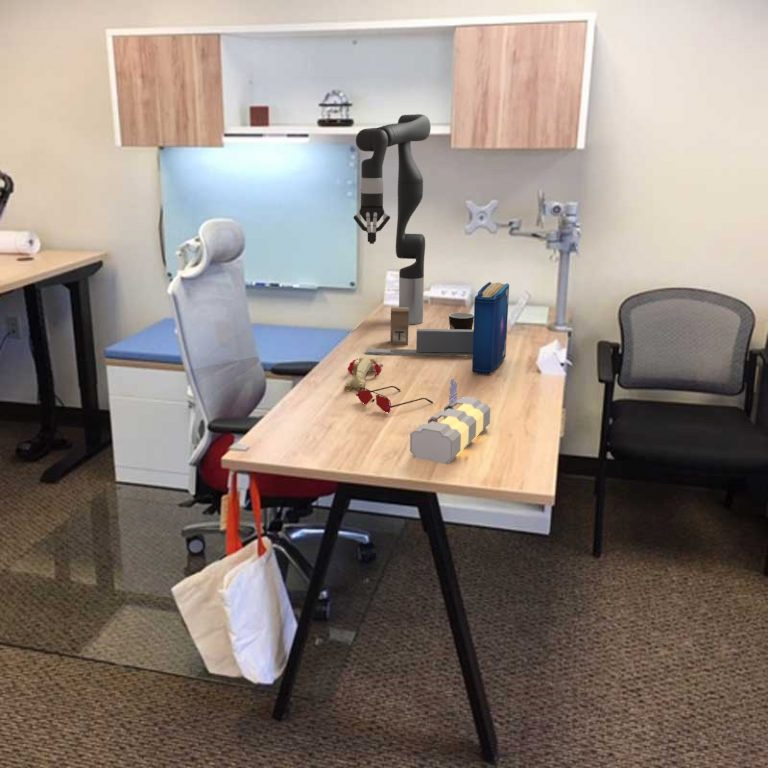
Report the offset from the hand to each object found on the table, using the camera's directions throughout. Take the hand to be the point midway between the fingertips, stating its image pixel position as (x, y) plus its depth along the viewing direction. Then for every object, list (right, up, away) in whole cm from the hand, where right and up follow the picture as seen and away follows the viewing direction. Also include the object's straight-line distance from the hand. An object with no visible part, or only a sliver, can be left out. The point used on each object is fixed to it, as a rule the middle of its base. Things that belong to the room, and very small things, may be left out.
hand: (371, 243), depth 280 cm
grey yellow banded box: (+20, -62, -85) cm, 107 cm away
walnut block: (+10, -34, +2) cm, 35 cm away
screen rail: (+18, -38, -10) cm, 43 cm away
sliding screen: (+26, -38, -11) cm, 47 cm away
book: (+37, -43, -24) cm, 61 cm away
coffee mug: (+31, -34, +4) cm, 46 cm away
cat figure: (-2, -47, -37) cm, 60 cm away
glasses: (+7, -54, -57) cm, 79 cm away
